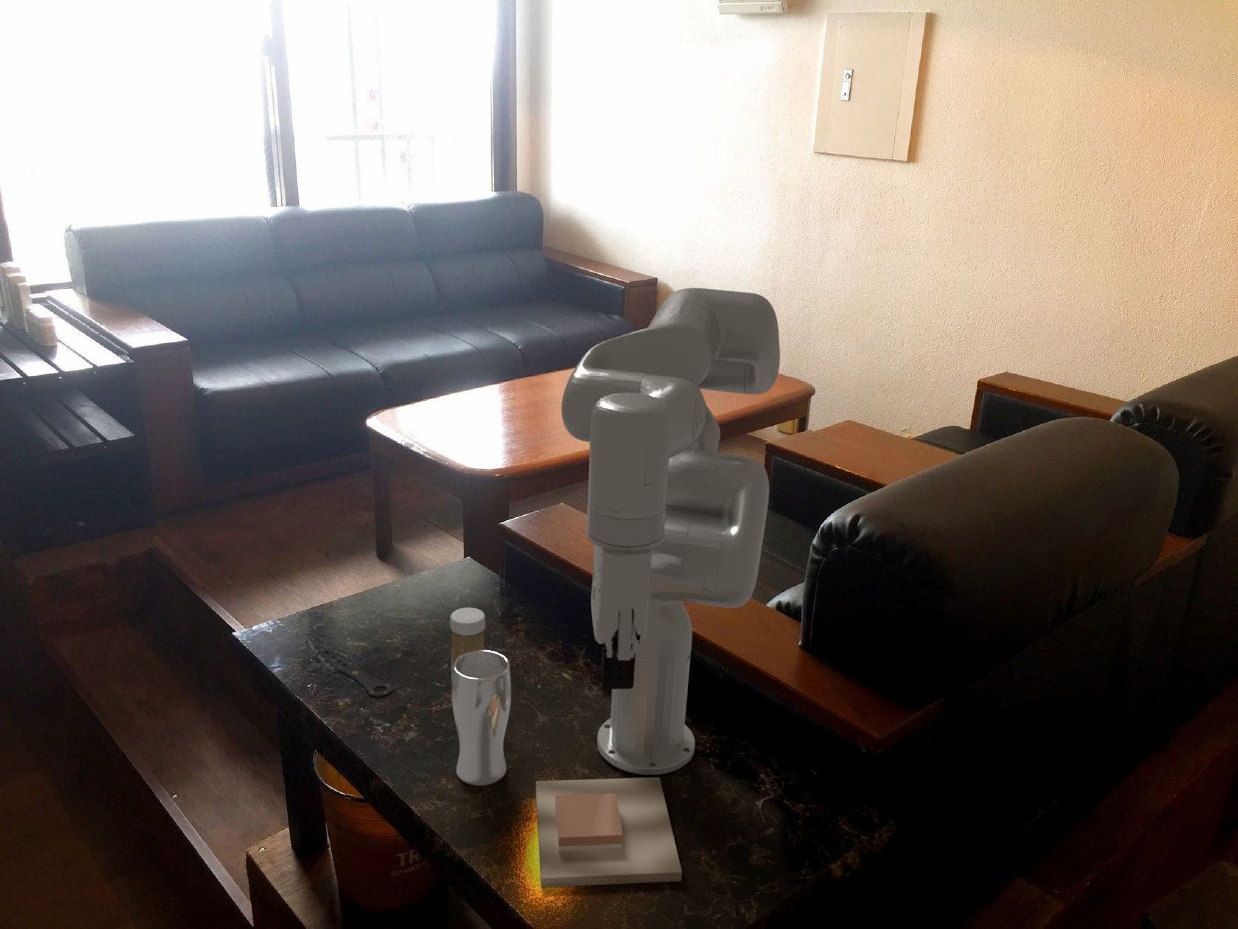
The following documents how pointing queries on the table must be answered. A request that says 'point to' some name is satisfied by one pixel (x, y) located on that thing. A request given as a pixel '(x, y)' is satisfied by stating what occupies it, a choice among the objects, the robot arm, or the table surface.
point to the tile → (588, 822)
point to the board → (642, 826)
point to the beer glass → (481, 714)
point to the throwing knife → (350, 669)
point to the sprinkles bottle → (466, 633)
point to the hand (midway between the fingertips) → (617, 684)
